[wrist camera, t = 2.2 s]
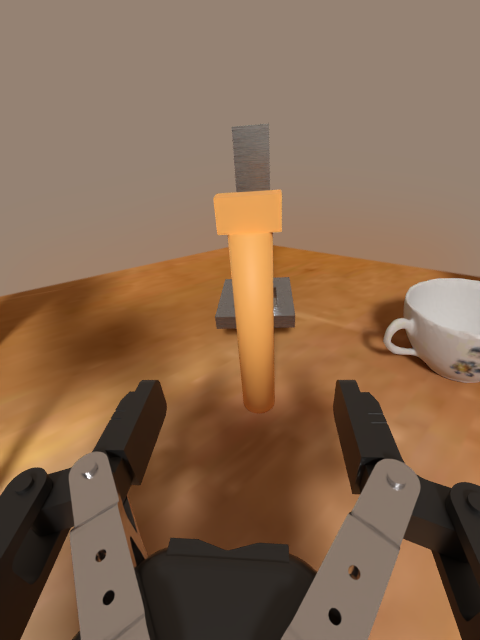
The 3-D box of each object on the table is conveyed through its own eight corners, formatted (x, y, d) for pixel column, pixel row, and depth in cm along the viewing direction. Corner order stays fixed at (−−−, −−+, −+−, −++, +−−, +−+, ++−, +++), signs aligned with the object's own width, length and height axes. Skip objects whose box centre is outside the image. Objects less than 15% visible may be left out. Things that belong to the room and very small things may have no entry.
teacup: (469, 328, 38) (493, 271, 33) (564, 403, 27) (618, 334, 23) (353, 338, 38) (363, 282, 33) (404, 417, 27) (428, 350, 23)
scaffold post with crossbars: (293, 357, 35) (302, 118, 22) (220, 357, 36) (188, 128, 23) (282, 266, 59) (283, 124, 46) (238, 268, 60) (227, 129, 47)
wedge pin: (236, 413, 29) (211, 200, 18) (239, 389, 32) (218, 191, 21) (281, 413, 29) (282, 196, 18) (279, 389, 31) (280, 187, 20)
